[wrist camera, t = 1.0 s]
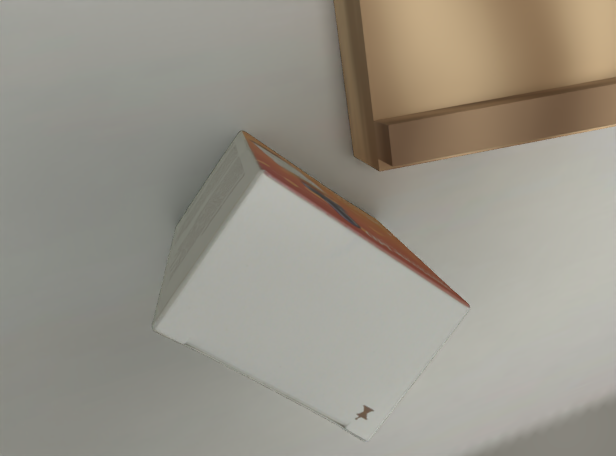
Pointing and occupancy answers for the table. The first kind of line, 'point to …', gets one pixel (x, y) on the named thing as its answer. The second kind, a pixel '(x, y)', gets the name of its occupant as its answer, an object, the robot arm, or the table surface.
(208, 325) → the small box
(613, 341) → the table surface
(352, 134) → the wooden tray
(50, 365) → the table surface
